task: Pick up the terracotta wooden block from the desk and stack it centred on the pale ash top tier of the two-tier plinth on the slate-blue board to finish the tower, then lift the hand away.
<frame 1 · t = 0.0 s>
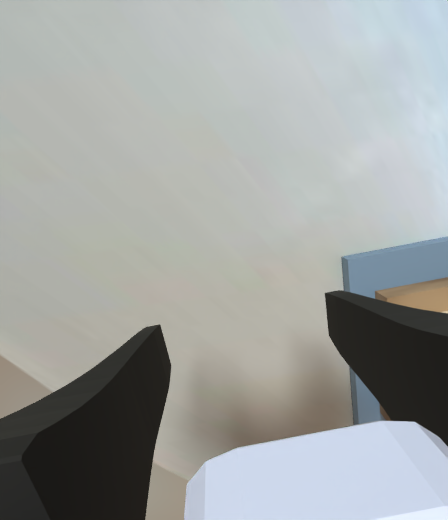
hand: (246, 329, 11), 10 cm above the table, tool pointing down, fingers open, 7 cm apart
plinth board: (436, 336, 24), on the table
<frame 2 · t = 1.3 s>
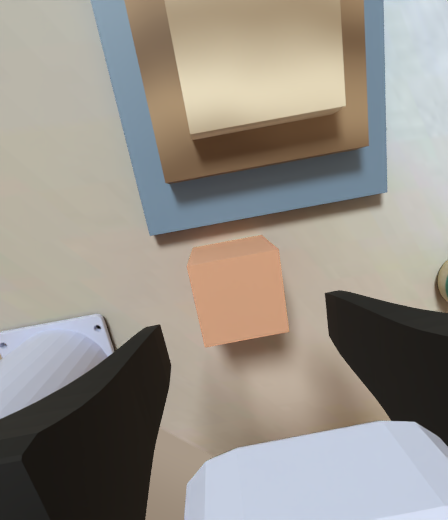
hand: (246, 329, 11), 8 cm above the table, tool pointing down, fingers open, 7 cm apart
plinth board: (245, 66, 16), on the table
terracotta block: (232, 273, 20), on the table
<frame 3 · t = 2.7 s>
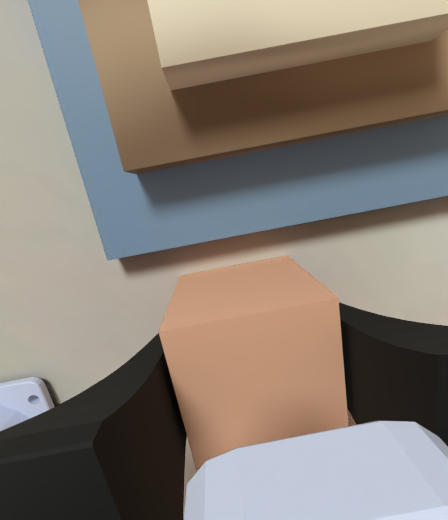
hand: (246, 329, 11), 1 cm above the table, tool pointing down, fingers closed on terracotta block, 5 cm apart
terracotta block: (242, 314, 13), on the table, touching gripper
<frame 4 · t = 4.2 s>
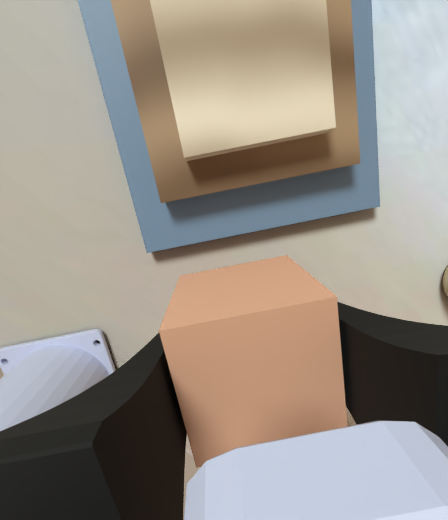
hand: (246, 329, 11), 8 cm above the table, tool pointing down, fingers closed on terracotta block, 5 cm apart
plinth board: (238, 86, 17), on the table
terracotta block: (242, 314, 13), point 7 cm above the table, touching gripper
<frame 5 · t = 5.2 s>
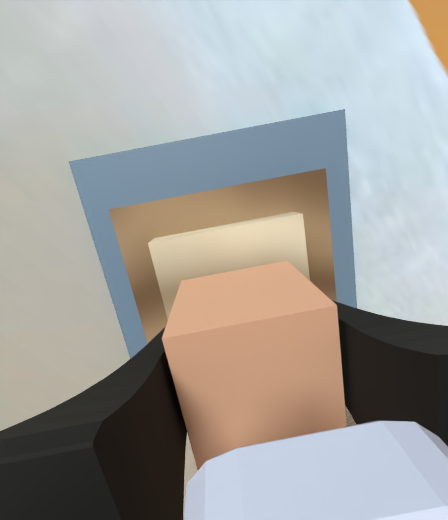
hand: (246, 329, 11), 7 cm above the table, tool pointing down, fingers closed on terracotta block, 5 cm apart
plinth board: (232, 277, 18), on the table
terracotta block: (243, 318, 13), point 6 cm above the table, touching gripper
when the fingers open (7 cm above the table, at t = 5.8 s): terracotta block drops 1 cm, resting on plinth board.
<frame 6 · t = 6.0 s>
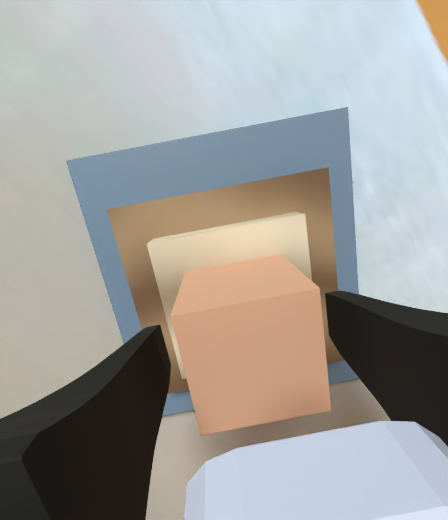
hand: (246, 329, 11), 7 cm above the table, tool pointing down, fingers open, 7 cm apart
plinth board: (233, 278, 18), on the table
terracotta block: (240, 307, 14), point 4 cm above the table, touching plinth board
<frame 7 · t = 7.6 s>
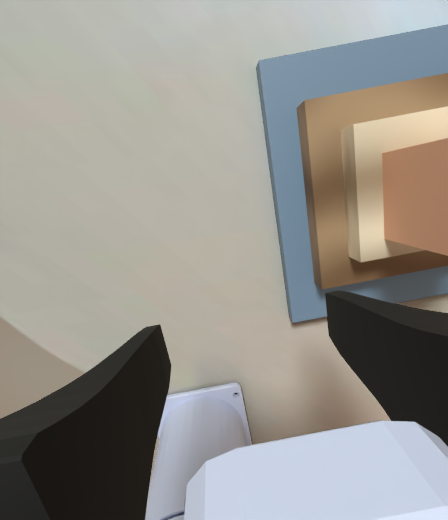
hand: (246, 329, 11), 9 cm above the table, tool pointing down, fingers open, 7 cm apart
plinth board: (381, 186, 19), on the table
terracotta block: (424, 189, 16), point 4 cm above the table, touching plinth board
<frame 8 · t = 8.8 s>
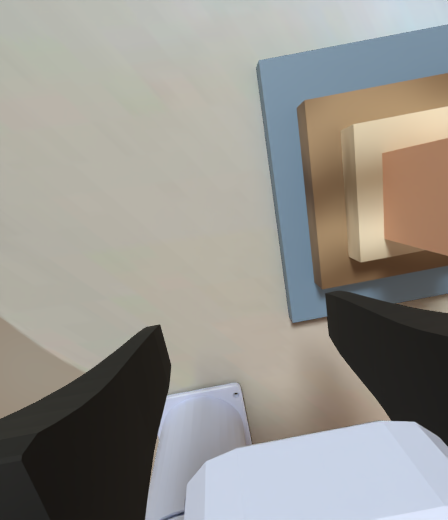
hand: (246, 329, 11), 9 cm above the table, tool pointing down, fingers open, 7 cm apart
plinth board: (381, 186, 19), on the table
terracotta block: (424, 189, 16), point 4 cm above the table, touching plinth board
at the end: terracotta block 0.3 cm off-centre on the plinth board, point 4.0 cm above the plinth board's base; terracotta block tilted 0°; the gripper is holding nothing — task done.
